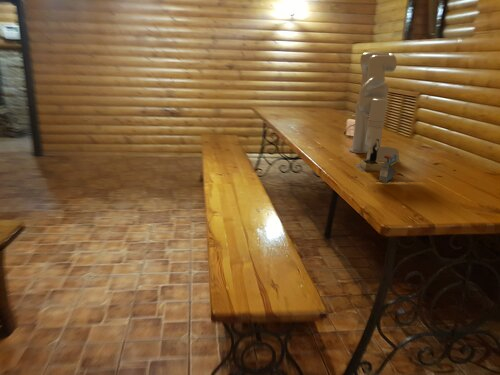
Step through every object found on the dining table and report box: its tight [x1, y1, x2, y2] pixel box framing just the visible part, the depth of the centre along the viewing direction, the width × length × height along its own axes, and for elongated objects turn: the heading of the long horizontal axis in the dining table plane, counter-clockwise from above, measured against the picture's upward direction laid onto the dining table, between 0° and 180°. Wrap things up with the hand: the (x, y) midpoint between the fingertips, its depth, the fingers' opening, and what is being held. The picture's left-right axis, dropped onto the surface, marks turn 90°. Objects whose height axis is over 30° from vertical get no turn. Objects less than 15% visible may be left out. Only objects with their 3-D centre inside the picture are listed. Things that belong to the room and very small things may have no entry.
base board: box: [353, 163, 397, 173], centre depth 198 cm, size 14×18×1 cm
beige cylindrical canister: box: [365, 146, 376, 164], centre depth 195 cm, size 4×4×11 cm
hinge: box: [376, 146, 401, 163], centre depth 214 cm, size 17×5×10 cm, turn 90°
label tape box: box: [378, 155, 397, 184], centre depth 180 cm, size 9×4×12 cm, turn 141°
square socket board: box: [359, 155, 393, 171], centre depth 196 cm, size 8×16×7 cm, turn 93°
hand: (371, 159), depth 196 cm, fingers closed on beige cylindrical canister, 4 cm apart
